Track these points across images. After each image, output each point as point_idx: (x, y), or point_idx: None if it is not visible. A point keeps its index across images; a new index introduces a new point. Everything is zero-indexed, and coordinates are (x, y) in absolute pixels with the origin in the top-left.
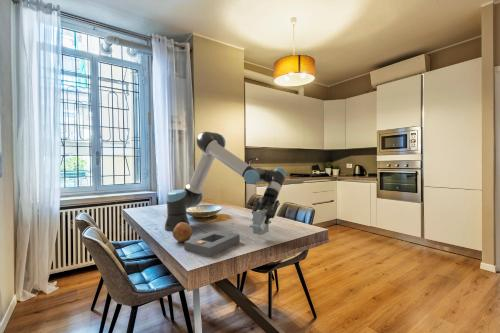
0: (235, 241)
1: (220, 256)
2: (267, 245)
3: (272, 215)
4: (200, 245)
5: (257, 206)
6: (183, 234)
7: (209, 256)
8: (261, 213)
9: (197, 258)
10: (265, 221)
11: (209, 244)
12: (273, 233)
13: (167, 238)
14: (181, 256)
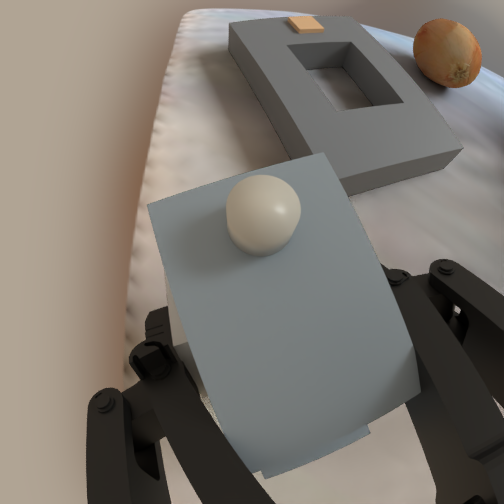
0: None
1: (204, 69)
2: (149, 305)
3: (95, 415)
4: (277, 18)
5: None
6: (416, 37)
7: (229, 48)
8: (149, 212)
9: None
10: (164, 316)
11: (265, 32)
12: (324, 495)
13: None
14: None
